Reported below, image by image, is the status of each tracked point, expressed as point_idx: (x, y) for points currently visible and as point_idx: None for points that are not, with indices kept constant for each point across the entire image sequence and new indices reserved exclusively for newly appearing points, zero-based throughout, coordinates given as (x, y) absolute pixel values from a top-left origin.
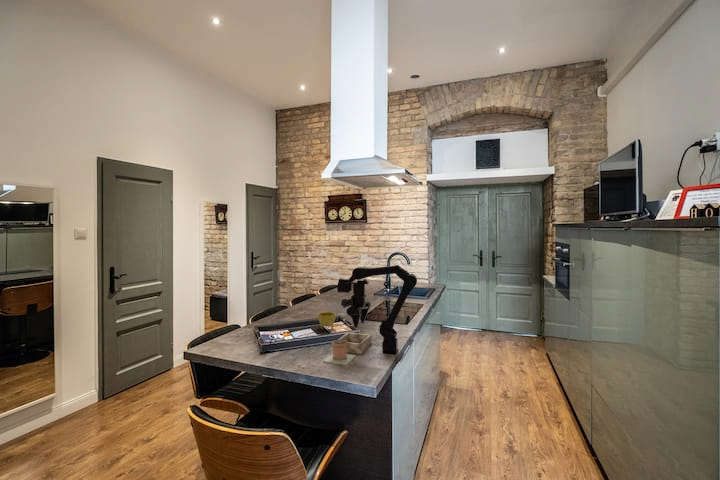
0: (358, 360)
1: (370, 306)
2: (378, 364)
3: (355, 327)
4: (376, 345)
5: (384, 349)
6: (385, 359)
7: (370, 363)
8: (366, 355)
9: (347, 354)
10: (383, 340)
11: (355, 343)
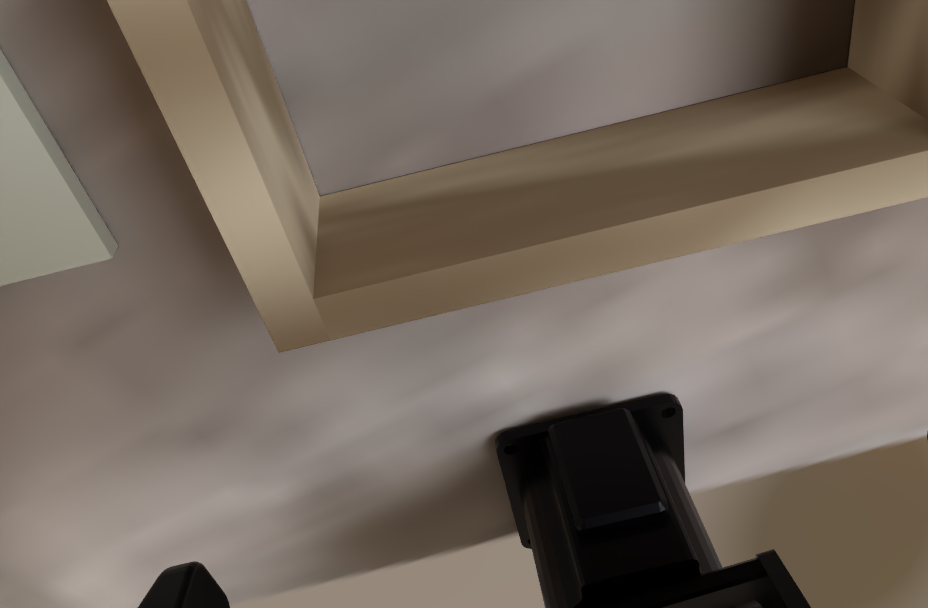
0: (31, 357)
1: None
2: (132, 558)
3: (177, 581)
4: None
5: (547, 463)
6: (319, 538)
7: (82, 499)
8: None
9: (21, 117)
10: (575, 567)
11: (242, 242)
